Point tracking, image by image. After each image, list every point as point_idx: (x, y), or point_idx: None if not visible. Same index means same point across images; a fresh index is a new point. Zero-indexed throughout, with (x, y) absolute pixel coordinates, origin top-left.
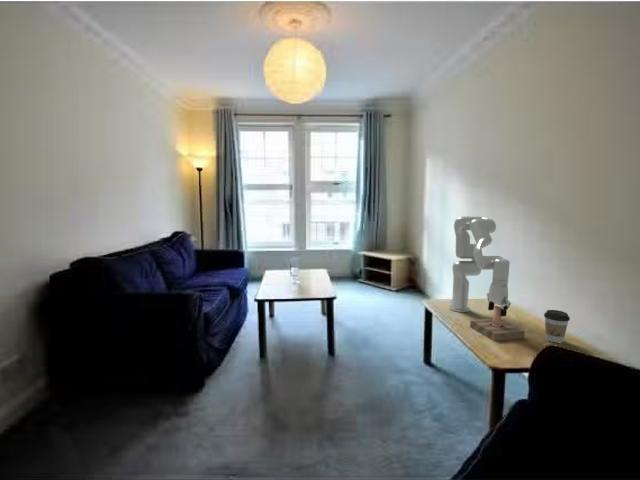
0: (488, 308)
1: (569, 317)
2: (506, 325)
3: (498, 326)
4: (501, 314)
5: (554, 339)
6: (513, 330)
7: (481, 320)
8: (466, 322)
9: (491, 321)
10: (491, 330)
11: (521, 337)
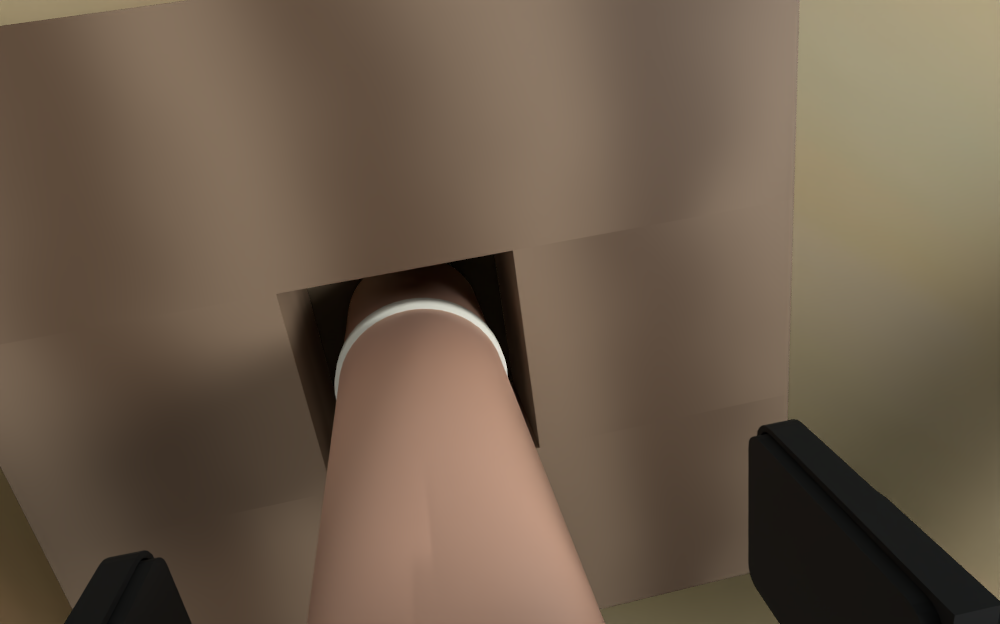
0: (805, 443)
1: None
2: None
3: (335, 379)
4: (82, 616)
5: None
6: None
7: (734, 195)
8: (945, 13)
9: (646, 376)
10: (32, 83)
11: None
